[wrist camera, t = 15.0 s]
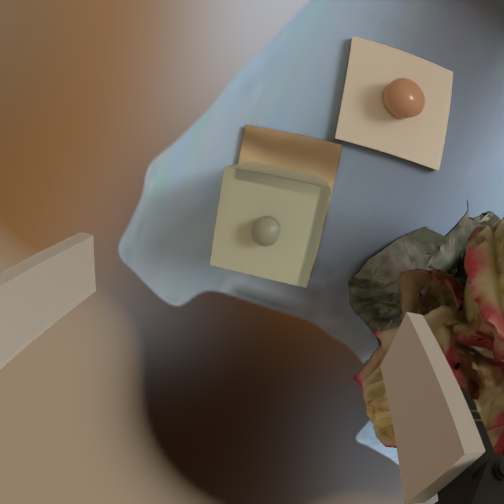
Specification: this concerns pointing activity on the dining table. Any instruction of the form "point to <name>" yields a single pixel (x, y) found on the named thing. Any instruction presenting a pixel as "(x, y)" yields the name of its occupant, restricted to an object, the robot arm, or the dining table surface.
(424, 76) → the cream plate
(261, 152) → the tan mat
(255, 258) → the sage cover
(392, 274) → the rose bouquet
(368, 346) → the dining table surface
